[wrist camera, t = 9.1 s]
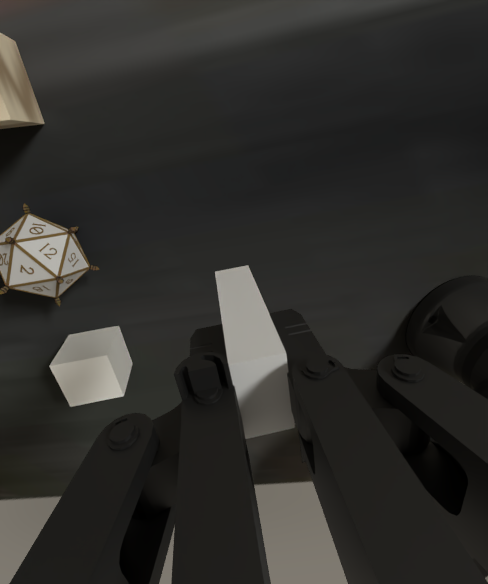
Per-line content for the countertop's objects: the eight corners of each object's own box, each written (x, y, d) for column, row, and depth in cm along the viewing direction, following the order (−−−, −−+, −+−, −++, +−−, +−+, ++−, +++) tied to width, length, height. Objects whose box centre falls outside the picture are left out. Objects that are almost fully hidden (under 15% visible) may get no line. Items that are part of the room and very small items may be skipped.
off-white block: (132, 362, 41) (123, 396, 35) (86, 371, 40) (70, 406, 35) (118, 325, 38) (107, 355, 33) (69, 334, 37) (49, 366, 32)
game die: (65, 250, 37) (-6, 312, 30) (23, 183, 30) (-78, 246, 24) (127, 264, 34) (63, 336, 28) (95, 196, 28) (4, 269, 22)
